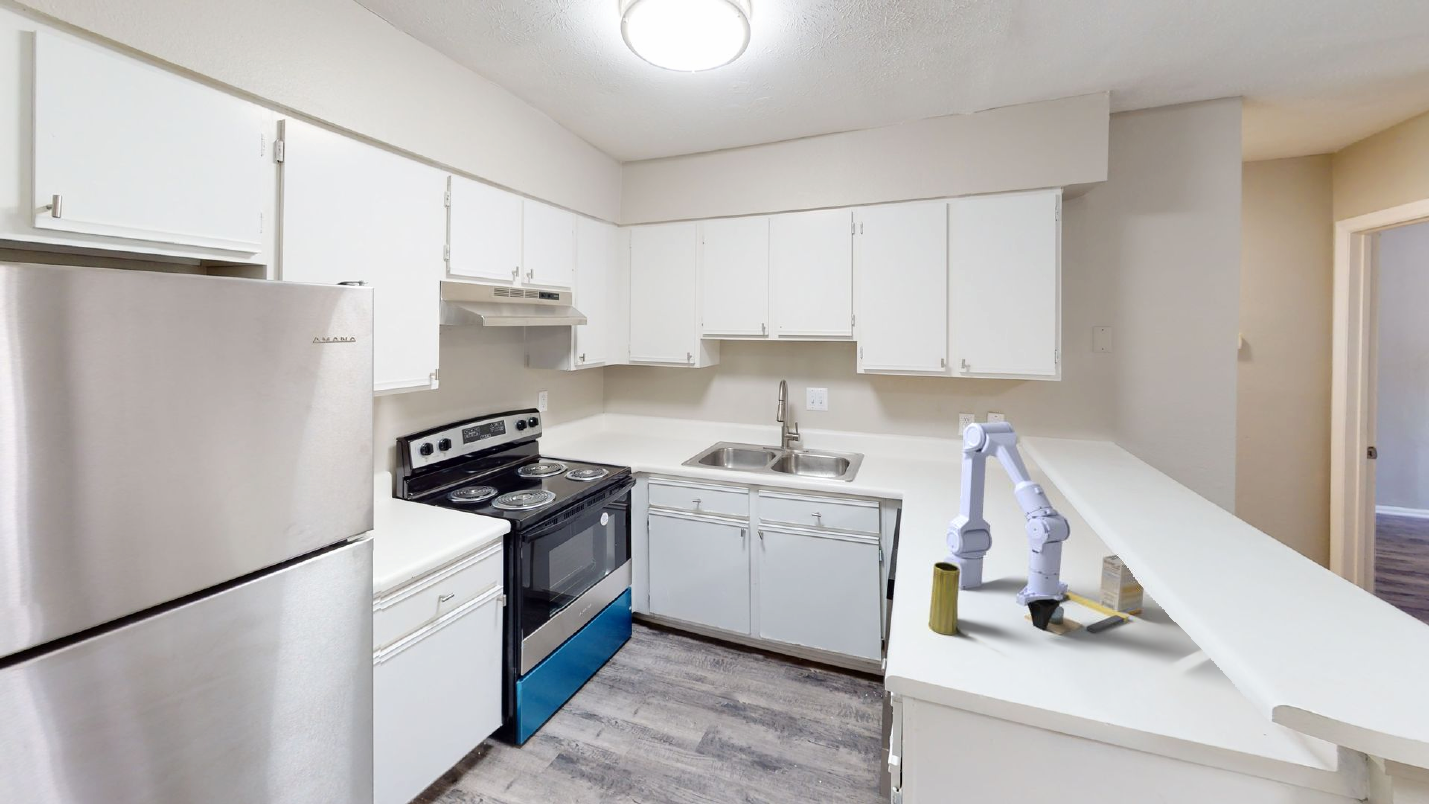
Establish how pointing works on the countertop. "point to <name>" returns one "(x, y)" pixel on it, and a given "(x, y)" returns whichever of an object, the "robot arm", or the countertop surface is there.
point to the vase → (944, 598)
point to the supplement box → (1119, 587)
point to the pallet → (1060, 629)
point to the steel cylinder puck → (1057, 616)
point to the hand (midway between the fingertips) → (1039, 629)
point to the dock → (1104, 624)
